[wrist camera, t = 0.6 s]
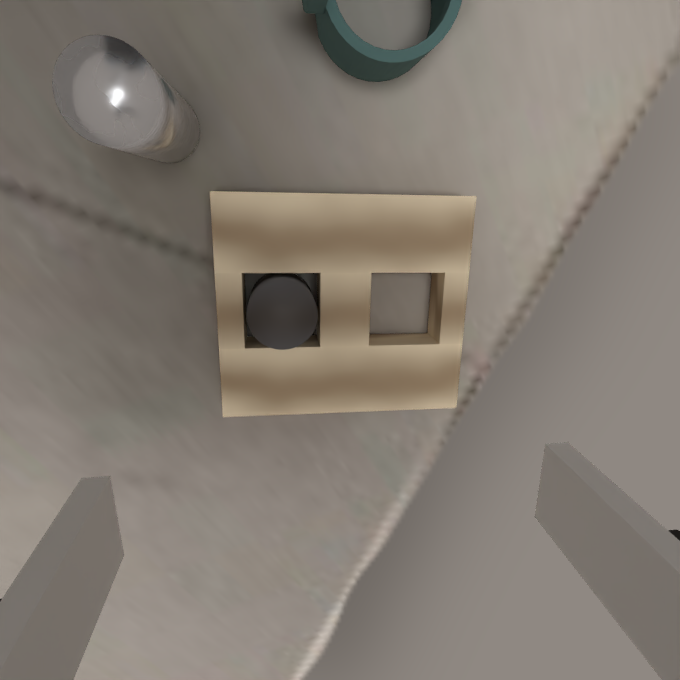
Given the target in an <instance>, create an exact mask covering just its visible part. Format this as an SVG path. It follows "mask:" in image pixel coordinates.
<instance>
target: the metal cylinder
mask: <svg viewBox="0 0 680 680" xmlns="http://www.w3.org/2000/svg"><path fill="white" fill-rule="evenodd" d="M52 85H53V93H54V98H55V101H56V104H57V106H58V109H59V111H60V113H61V114H62V116H63V118H64V119H65V120H66V122H67V123H68V124H69V125H70V126H71V127H72V128H73V129H74V130H75V131H76V132H77V133H78V134H79V135H81V136H82V137H84V138H85V139H87V140H89V141H91V142H93V143H96V144H99V145H102V146H106V147H110V148H113V149H117V150H120V151H124V152H127V153H131V154H134V155H138V156H142V157H145V158H149V159H152V160H156V161H159V162H164V163H176V162H179V161H182V160H184V159H186V158H187V157H189V156H190V155H191V154H192V153H193V151H194V150H195V148H196V147H197V144H198V141H199V137H200V127H199V122H198V119H197V116H196V114H195V112H194V110H193V109H192V108H191V106H190V105H189V104H188V103H187V102H186V101H185V100H184V99H183V98H182V97H181V96H180V95H179V94H178V93H177V92H176V90H175V89H174V88H173V87H172V86H171V85H170V84H169V83H168V82H167V81H166V80H165V79H164V78H163V77H162V76H161V75H160V74H159V73H158V72H157V71H156V70H155V69H154V68H153V67H152V65H151V64H150V63H149V62H148V61H147V60H146V59H145V58H144V57H143V56H142V55H141V54H140V53H139V52H138V51H137V50H136V49H134V48H133V47H132V46H130V45H129V44H127V43H125V42H124V41H122V40H119V39H117V38H114V37H111V36H106V35H90V36H85V37H82V38H79V39H77V40H75V41H73V42H72V43H71V44H69V45H68V46H67V47H66V48H65V49H64V50H63V51H62V53H61V54H60V56H59V57H58V59H57V61H56V64H55V67H54V71H53V79H52Z"/></svg>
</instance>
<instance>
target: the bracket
mask: <svg viewBox="0 0 680 680" xmlns="http://www.w3.org/2000/svg"><path fill="white" fill-rule="evenodd" d="M461 2H462V0H431V23H430V29H429V32H428V36H427V39H426V40H424V41H422V42H421V43H419V44H418V45H415V46H413V47H410V48H408V49H402V50H384V49H381V48H377V47H374V46H372V45H370V44H368V43H367V42H365V41H363V40H362V39H361V38H360V37H358V36H357V35H356V34H355V33H354V32H353V31H352V30H351V29H350V27H349V26H348V25H347V24H346V22H345V20H344V18H343V17H342V15H341V13H340V11H339V8H338V6H337V3H336V0H302V3H303V9H304V11H305V12H306V13H314V14H315V16H316V22H317V29H318V36H319V39H320V41H321V43H322V45H323V48H324V49H325V51H326V52H327V54H328V55H329V57H330V58H331V59H332V61H333V62H334V63H335V64H336V65H337V66H338V67H339V68H341V69H342V70H343V71H345V72H346V73H347V74H349V75H351V76H353V77H356V78H358V79H361V80H365V81H373V82H381V81H387V80H391V79H394V78H396V77H399V76H401V75H402V74H404V73H406V72H407V71H409V70H410V69H411V68H412V67H413V66H414V65H416V64H417V63H418V62H419V61H420V60H421V59H422V58H423V57H424V56H425V55H426V54H428V53H429V52H430V51H431V50H432V49H433V48H434V47H435V46H436V45H437V44H438V43H439V42H440V41H441V40H442V39H443V38H444V37H445V35H446V34H447V33H448V31H449V30H450V28H451V27H452V25H453V23H454V21H455V19H456V17H457V14H458V11H459V8H460V6H461Z"/></svg>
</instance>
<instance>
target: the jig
mask: <svg viewBox="0 0 680 680" xmlns="http://www.w3.org/2000/svg"><path fill="white" fill-rule="evenodd" d="M210 203H211V220H212V238H213V255H214V272H215V289H216V307H217V324H218V341H219V358H220V376H221V393H222V410H223V417H241V416H266V415H290V414H315V413H340V412H365V411H390V410H415V409H440V408H456V404H457V394H458V383H459V373H460V363H461V352H462V342H463V331H464V321H465V310H466V300H467V289H468V279H469V269H470V258H471V248H472V237H473V227H474V216H475V206H476V196H436V195H383V194H331V193H278V192H225V191H210ZM245 273H268V274H266V275H264V276H263V277H261V278H260V279H259V280H258V281H257V282H256V284H255V285H254V287H253V289H252V291H251V295H250V299H249V303H248V307H247V316H246V297H245ZM294 273H317V306H316V303H315V300H314V298H313V295H312V292H311V290H310V288H309V286H308V285H307V283H306V282H305V281H304V280H303V279H302V278H301V277H299V276H298V275H296V274H294ZM371 273H432V276H431V290H430V304H429V317H428V331H427V333H414V334H369V326H370V299H371ZM246 317H247V322H246ZM247 323H248V327H249V329H250V331H251V333H252V334H253V336H254V337H247ZM316 325H317V335H312V333H313V332H314V330H315V328H316Z"/></svg>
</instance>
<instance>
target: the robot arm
mask: <svg viewBox="0 0 680 680" xmlns="http://www.w3.org/2000/svg"><path fill="white" fill-rule="evenodd" d="M535 518H536V519H537V520H538V522H539V523H540V524H541V526H542V527H543V528H544V529H545V531H546V532H547V533H548V534H549V536H550V537H551V538H552V540H553V541H554V542H555V543H556V545H557V546H558V547H559V548H560V550H561V551H562V552H563V554H564V555H565V556H566V558H567V559H568V560H569V561H570V563H571V564H572V565H573V566H574V568H575V569H576V570H577V571H578V573H579V574H580V575H581V577H582V578H583V579H584V580H585V582H586V583H587V585H588V586H589V587H590V588H591V590H592V591H593V592H594V593H595V595H596V596H597V597H598V598H599V600H600V601H601V602H602V604H603V605H604V606H605V608H606V609H607V610H608V611H609V613H610V614H611V615H612V617H613V618H614V619H615V620H616V622H617V623H618V624H619V625H620V627H621V628H622V629H623V631H624V632H625V633H626V635H627V636H628V637H629V638H630V640H631V641H632V642H633V644H634V645H635V646H636V647H637V649H638V650H639V651H640V652H641V654H642V655H643V656H644V657H645V659H646V660H647V661H648V663H649V664H650V665H651V667H652V668H653V669H654V670H655V672H656V673H657V674H658V676H659V677H660V678H661V679H662V680H680V531H678V530H669V531H668V530H667V529H666V528H665V527H663V526H662V525H661V524H660V523H659V522H658V521H657V520H655V519H654V518H653V517H652V516H651V515H650V514H648V513H647V512H646V511H645V510H644V509H643V508H642V507H641V506H640V505H638V504H637V503H636V502H635V501H634V500H633V499H632V498H631V497H629V496H628V495H627V494H626V493H625V492H624V491H622V490H621V489H620V488H619V487H618V486H617V485H616V484H615V483H614V482H612V481H611V480H610V479H609V478H608V477H607V476H606V475H604V474H603V473H602V472H601V471H600V470H598V468H597V467H595V466H594V465H593V464H592V463H591V462H590V461H589V460H587V459H586V458H585V457H584V456H583V455H582V454H581V453H580V452H578V451H577V450H576V449H575V448H574V447H573V446H571V445H570V444H569V443H568V442H564V443H551V444H545V449H544V456H543V463H542V470H541V477H540V484H539V491H538V498H537V505H536V511H535ZM123 557H124V551H123V546H122V540H121V534H120V529H119V523H118V517H117V512H116V506H115V501H114V495H113V489H112V484H111V478H110V476H105V477H91V478H81V480H80V482H79V483H78V485H77V486H76V488H75V489H74V491H73V492H72V494H71V495H70V497H69V498H68V500H67V501H66V503H65V504H64V506H63V507H62V509H61V510H60V512H59V513H58V515H57V516H56V518H55V519H54V521H53V522H52V524H51V525H50V527H49V528H48V530H47V532H46V533H45V535H44V536H43V538H42V539H41V541H40V542H39V544H38V545H37V547H36V548H35V550H34V551H33V553H32V554H31V556H30V557H29V559H28V560H27V562H26V563H25V565H24V566H23V568H22V569H21V571H20V572H19V574H18V575H17V577H16V579H15V580H14V582H13V583H12V585H11V586H10V588H9V589H8V591H7V592H6V594H5V595H4V597H3V598H2V599H0V680H73V679H74V677H75V674H76V672H77V669H78V667H79V664H80V662H81V659H82V657H83V655H84V652H85V650H86V647H87V645H88V642H89V640H90V637H91V635H92V633H93V630H94V628H95V625H96V623H97V620H98V618H99V615H100V613H101V610H102V608H103V606H104V603H105V601H106V598H107V596H108V593H109V591H110V588H111V586H112V584H113V581H114V579H115V576H116V574H117V571H118V569H119V566H120V564H121V562H122V559H123Z"/></svg>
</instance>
